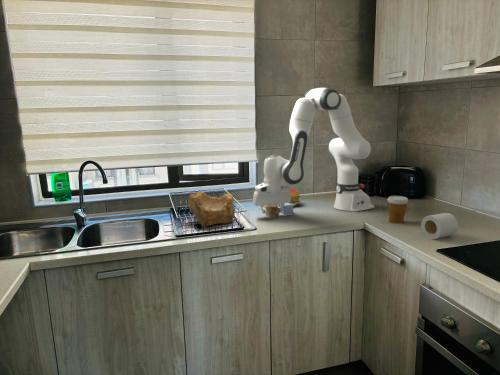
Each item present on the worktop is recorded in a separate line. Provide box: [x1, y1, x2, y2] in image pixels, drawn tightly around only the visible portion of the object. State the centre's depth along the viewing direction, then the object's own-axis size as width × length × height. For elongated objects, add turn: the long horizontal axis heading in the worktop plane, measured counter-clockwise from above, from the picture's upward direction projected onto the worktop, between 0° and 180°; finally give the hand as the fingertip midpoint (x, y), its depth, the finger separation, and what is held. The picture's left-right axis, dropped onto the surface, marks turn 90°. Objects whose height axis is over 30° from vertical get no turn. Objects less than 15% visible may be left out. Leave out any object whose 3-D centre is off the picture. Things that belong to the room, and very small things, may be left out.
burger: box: [278, 187, 301, 207], centre depth 213 cm, size 14×14×10 cm
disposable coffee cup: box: [386, 195, 409, 224], centre depth 179 cm, size 10×10×12 cm
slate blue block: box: [279, 203, 294, 216], centre depth 197 cm, size 5×6×5 cm
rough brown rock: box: [187, 191, 235, 228], centre depth 180 cm, size 23×17×15 cm
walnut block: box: [265, 205, 280, 219], centre depth 192 cm, size 5×6×5 cm
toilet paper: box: [420, 212, 459, 240], centre depth 158 cm, size 10×10×10 cm
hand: (272, 212), depth 192 cm, fingers open, 8 cm apart
